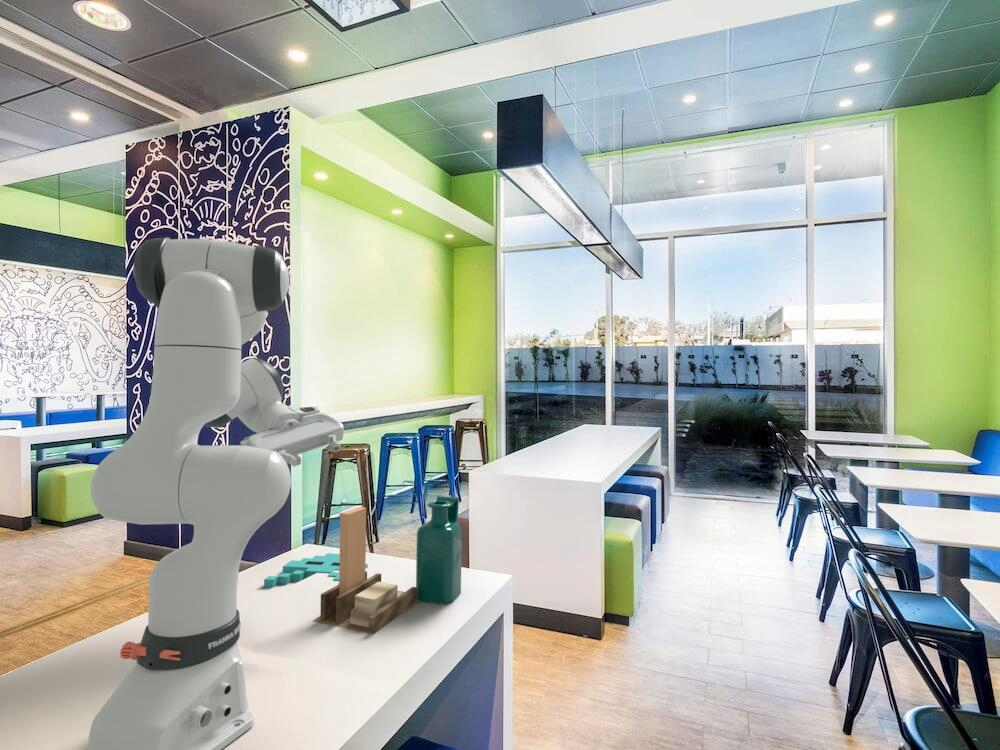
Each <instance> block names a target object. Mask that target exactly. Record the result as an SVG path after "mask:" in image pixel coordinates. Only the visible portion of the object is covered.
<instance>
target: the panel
mask: <svg viewBox="0 0 1000 750" xmlns="http://www.w3.org/2000/svg"><path fill="white" fill-rule="evenodd" d="M366 539H367V507H363V506H356V507H354V508H352V509H351V508H350V509H349V510H346V511H343V512H340V513H339V554H340V567H339V570H338V573H339V575H338V576H339V581H338V585H339V595H341V594H342V593H344V592H346V591H348V590H349V589H351V588H353V587H355V586H356V585H358V584H360V583H361V582H363V581H365V571H366V568H365V564H366V556H367V554H366V550H367V549H366V547H367V546H366V545H367V542H366V541H367V540H366Z"/></svg>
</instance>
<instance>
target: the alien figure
mask: <svg viewBox="0 0 1000 750" xmlns="http://www.w3.org/2000/svg"><path fill="white" fill-rule="evenodd" d="M368 565H369V564H368V563H365V569H369V568H368V567H369V566H368ZM339 567H340V553H330V552H329V553H325V555H314V556H313V557H312V558H311V557H303V558H301V559H300V560H295V559H293V560H290V561H288V562H287V563H285V564H284V565H283V566H282V573H281V574H280V575H278V576H277V575H268V576H267V577H265V578H264V580H263V588H275V587H276V586H277V585H288V584H290V583H291V582H301V581H303V580H304V579H307V578H310V577H312V576H314V575H316V574H319V573H320V574H321V573H322V574H323V573H324V574H328V575H327V577H328V578H329V577H331V578H333V577H334V578H333V579H332V580H333V581H337V582H339ZM336 571H338V572H336Z"/></svg>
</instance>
